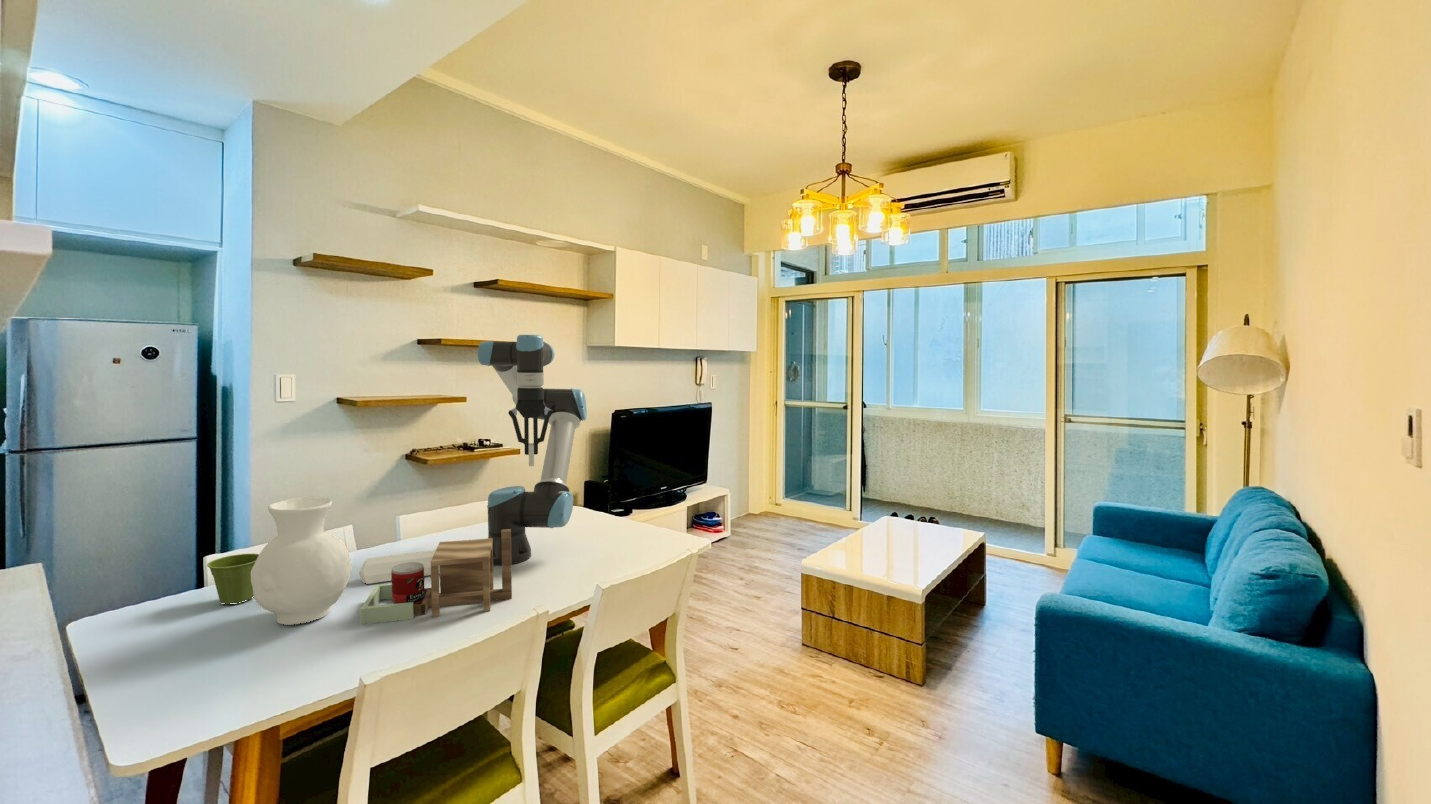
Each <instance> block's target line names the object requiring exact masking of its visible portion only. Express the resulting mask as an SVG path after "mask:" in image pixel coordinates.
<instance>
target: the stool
mask: <svg viewBox="0 0 1431 804" xmlns="http://www.w3.org/2000/svg"><path fill="white" fill-rule="evenodd" d="M435 550H436V551H435V553H434V555H433V558H432V560H431V575H430V583H431V587H430V588H431V591H432V607H431V617H432V618H435V617H440V614H441V611H440V610H441V606H440V601H439V595H442V594H453V593H463V592H473V591H483V612H490V611H491V601H490V590H494V565H493V538H488V537H487V538H477V539H476V538H475V539H463V540H452V541H451V540H450V541H448V540H447V541H440V542H438V545H437V547H436V549H435ZM439 565H440V574H439Z"/></svg>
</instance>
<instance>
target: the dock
mask: <svg viewBox="0 0 1431 804" xmlns="http://www.w3.org/2000/svg"><path fill="white" fill-rule="evenodd" d="M382 599H387V600H392V582H391V583H381V584H376V585H374V588H373V589H372V590H371V591H370V593H369V595H368V597H367V598H366V599H365V601H364V603H363V605H362V606H361V607H360V609H359V610H360V625H361V624H362V625H368V624H367V623H371V624H378V622H381V623H386V621H390V622H397V621H396V620H399V621H407V620H414V618H415V615H414V606H413V602H409V603H399V604H392V603H390V604H379V603H380V602H381V601H383V600H382Z"/></svg>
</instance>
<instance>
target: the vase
mask: <svg viewBox="0 0 1431 804" xmlns="http://www.w3.org/2000/svg"><path fill="white" fill-rule="evenodd" d="M332 506H333V500H331V499H330V498H329V497H328V498H326V497H321V496H299V497H292V498H288V499H285V500H280V501H278V502H273V503H271V504H270V505H268V507H267V511H268V513H269V514H270V515H271V517H272V519H273V520H274V522H275V526H276V530H277V536H276V537H274V538H272V539H271V540H270V541H269V542H268V543H266V544H265V546H264V547H263V548H262V550H261V551H260V553H259V556H258V558H257V560H256V561H255V564H254V566H253V568H252V570H251V584H252V587H253V594H254V597H253V599H254V600H255V602H256V603H257V604H258V605H259V606H260V607H261V608H262V609H264V610H266V611H268V612H271V613H273V614H276V622H277V623H278V624H280V625H283V624H284V626H292V625H294V624H295V625H300V623H301V624H305V623H306V622H307V623H310V621H311V622H313V620H314V621H317V620H320V619H322V618H324V617H326V616H327V615H328V614H329V613H330V612H331V607H332V606H333V605H335V604H336V603H337V602H338V600H339V599H340V597H341V596H342V594H343V593H344V590H345V589H346V587H347V585H348V583H349V579H350V577H351V573H352V563H351V557H350V554H349V550H348V548H347V546H346V544H345V542H344V541H343V540H341V539H340V538H339V537H337V536H335V535H334V534H331V533H330V532H326V531H325V522H326V519H327V516H328V514H329V512H330V509H331V507H332ZM325 615H326V616H325ZM316 619H317V620H316ZM295 625H294V626H295Z"/></svg>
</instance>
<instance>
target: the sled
mask: <svg viewBox="0 0 1431 804" xmlns="http://www.w3.org/2000/svg"><path fill="white" fill-rule="evenodd" d="M501 544H502V565H501V585H502V586H501V588H495V589H494V588H493V589H490V602H492V601H493V602H494V601H500V600H501V601H503V600H511V599H512V598H513V592H512V591H513V590H512V589H513V587H512V586H513V585H512V583H513V581H512V576H513V575H512V564H511V529H505V530H502V531H501ZM424 590H425V597H424V599H423V601H422V604H416V605H413V606H414V616H421V615H426V614H427V611H428V608H432V591H431V587H427V588H425V587H424ZM439 601H440V607H443V606H444V607H445V606H452V605H453V606H454V605H463V604H464V605H465V604H474V603H482V602H483V590H480V591H469V592H459V593H449V594H439Z"/></svg>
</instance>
